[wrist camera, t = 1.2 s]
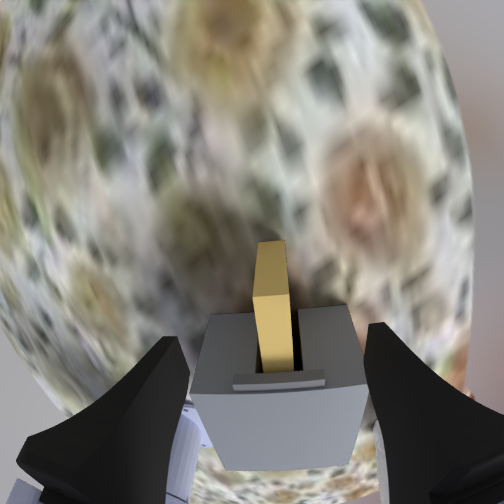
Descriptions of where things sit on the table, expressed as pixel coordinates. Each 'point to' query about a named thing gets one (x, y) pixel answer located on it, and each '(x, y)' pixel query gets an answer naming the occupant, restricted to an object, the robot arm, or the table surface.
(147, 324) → the table surface
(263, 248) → the yellow rectangular block
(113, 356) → the table surface
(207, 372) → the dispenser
